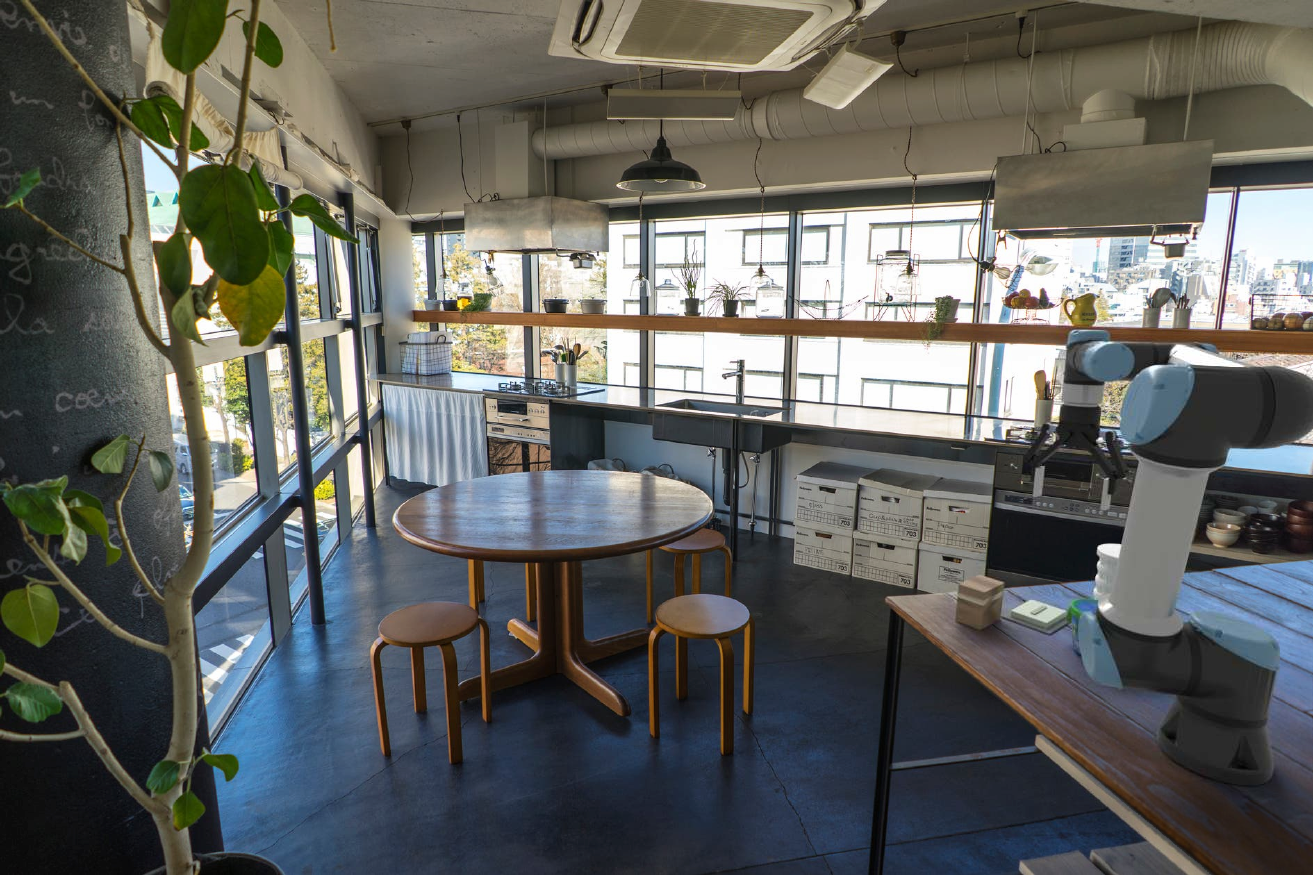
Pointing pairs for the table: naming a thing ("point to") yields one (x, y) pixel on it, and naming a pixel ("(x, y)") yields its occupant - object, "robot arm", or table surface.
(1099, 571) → the decorative container
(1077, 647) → the snack cup
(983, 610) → the walnut box
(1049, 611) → the lid
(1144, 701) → the table surface
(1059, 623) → the mat
